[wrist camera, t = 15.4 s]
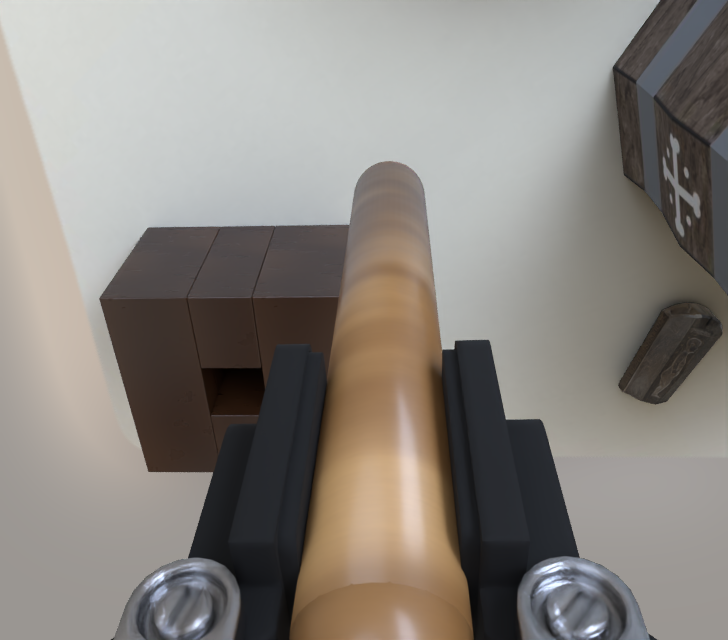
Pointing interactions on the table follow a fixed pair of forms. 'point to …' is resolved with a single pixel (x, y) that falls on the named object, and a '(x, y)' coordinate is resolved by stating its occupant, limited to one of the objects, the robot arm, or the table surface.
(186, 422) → the holder
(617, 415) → the table surface
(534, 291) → the table surface
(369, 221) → the stick
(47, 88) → the table surface
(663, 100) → the mug
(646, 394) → the block
